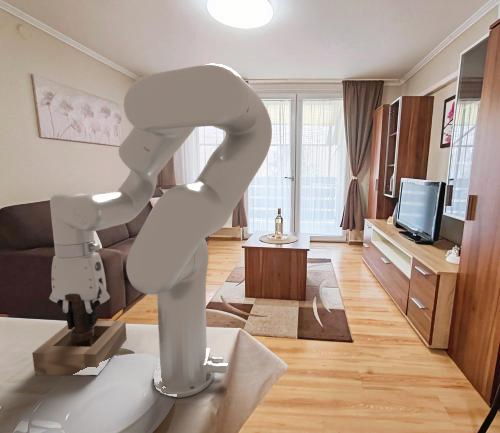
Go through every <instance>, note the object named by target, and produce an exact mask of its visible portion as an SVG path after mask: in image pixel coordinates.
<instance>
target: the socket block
mask: <svg viewBox="0 0 500 433" xmlns="http://www.w3.org/2000/svg"><path fill="white" fill-rule="evenodd" d="M126 325H127V324H126V321H125V320H97V322H96V324H95V325H94V336H93V337H92V346H91V347H76V342H75V341H73V340H71V333H72V330H73V329H75V328H73V329H71V330H70V329H68V324H67V325H65V326H64V327H63V328H61V329H60V330H59V331H58V332H56V333H55V334H54V335H53V336H51V338H49V339H48V340H46V342H44V343H43V344H41V345H40V346H39V347H38V348H36V349H35V350H34V351H32V354H31V355H32V360H33V361H32V362H33V369H34V375H38V376H39V375H42V376H48V375H49V376H74V375H73V374H75V373H77V372H79V371H80V370H83V369H85V368H87V367H96V368H97V367H98V366H99V363H100V362H102V361H105V360H107V359H109V358H111V359H112V358H113V357H114V356H116V353H117V352H118V351H119V349H121V347H122V346H123V344H124V343H125V342H126V341H127V326H126Z"/></svg>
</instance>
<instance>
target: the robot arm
mask: <svg viewBox="0 0 500 433" xmlns="http://www.w3.org/2000/svg"><path fill="white" fill-rule="evenodd" d="M123 110H124V114H125V117H126V119H127V120H128V122H129V123H130V124H131V125H132V126H133V127H132V128H131V130H130V132H129V133H128V134H127V136H126V137H125V139H124V140H123V141H122V142H121V144H120V145H119V148H118V155H119V158H120V159H121V161H122V162H123V164H124V165H125V166H126V167H127V168H128V169H129V171H130V172H129V173H128V176H127V178H126V179H125V180H124V182H122V184H121V186H120V187H119V188H118V189H117V190H116V191H106V192H105V191H104V192H97V193H95V192H94V193H88V194H87V193H84V192H83V193H82V192H65V193H63V192H61V193H56V194H53V195H52V196H51V198H49V207H50V214H51V215H50V216H51V225H52V234H53V235H52V236H53V243H54V254H55V255H54V256H53V258H52V264H51V289H52V290H51V293H50V295H49V298H48V299H49V300H50V301H51V302H54V303H56V304H57V305H58V306H59V307H60V308H62V312H63V313H65V315H66V324H67V325H68V329H70V330H71V329H73V328H74V317H73V306H72V303H71V301H65V295H67V294H79V295H80V297H81V300H84V303H85V307H86V311H87V312H86V313H85V314H84V318H85V329H86V330H90V329H91V328H92V327H93V326H94V325H95V324H96V322H97V321H98V318H97V308H99V306H100V305H102V304H104V303H106V302H107V301H108V300H110V297H111V295H110V294H109V292H108V291H107V281H106V274H105V268H104V264H103V261H102V258H101V255H100V252H96V251H99V250H100V249H101V246H100V244H99V243H98V244H97V243H96V241H95V233H94V232H96V231H101V230H105V229H109V228H112V227H116V226H121V225H124V224H127V223H129V222H132V221H133V220H134V219H135V218H137V217H138V215H139V214H140V213H141V212H142V211H143V209H144V208H145V207H147V205H148V204H149V202H150V201H151V200H152V198H153V196H154V194H155V191H156V187H157V185H158V183H157V182H158V176H159V174H160V173H161V171H162V170H163V169H164V168H165V166H166V165H167V164H168V162H169V161H170V160H171V159H172V158H173V156H174V155H175V154H176V152H177V151H178V150H179V149H180V148H181V146H182V145H183V144H184V143H185V141H187V139H188V138H189V137H190V135H191V134H192V133H193V132H194V130H195V129H196V128H201V127H214V128H217V129H219V130H222V131H224V132H225V136H224V139H223V140H222V141H221V143H220V144H219V145H218V146H217V148H216V149H214V151H213V152H212V153H211V155H210V156H209V158H208V160H207V163H206V164H205V166H204V168H203V169H202V171H201V172H200V174H198V176H197V178H196V179H195V181H193V182H191V183H183V184H179V185H176V186H173V187H171V188H169V189H168V190H167V191H165V192H164V193H163V194H162V195H161V196H160V197H159V198H158V199H157V201H156V202H155V204H154V205H153V207H152V208H151V210H150V212H149V214H148V216H147V217H146V220H145V221H144V223H143V225H142V227H141V228H140V230H139V232H138V234H137V236H136V237H135V240H134V241H133V243H132V245H131V246H130V249H129V251H128V254H127V257H126V265H125V270H126V275H127V278H128V281H129V283H130V284H131V286H132V287H133V288H134V289H135V290H137V291H138V292H139V293H142V294H145V295H151V296H153V295H156V296H157V299H156V303H157V305H156V306H157V322H158V323H157V326H158V327H157V328H158V345H159V346H158V347H159V364H160V368H159V367H158V368H159V369H161V378H162V382H161V381H160V382H159V384H158V382H157V383H156V382H155V381H154V384H155V386H156V387H157V388H159V389H161V391H162V392H163V393H166V394H177V398H178V399H179V398H186V397H190V396H194V395H195V394H198V393H200V392H202V391H204V390H205V389H206V388H207V387H208V386H209V385H210V384H211V382H213V380H214V377H215V374H216V373H217V374H228V370H229V369H228V368H229V363H228V362H224V356H213V355H212V354H211V348H210V347H209V348H208V347H207V346H208V345H207V344H208V342H207V311H206V310H207V307H206V306H207V301H206V300H207V297H206V295H207V294H206V292H207V291H206V289H207V288H206V287H207V286H206V285H207V273H208V268H209V267H208V266H209V247H208V242H207V241H206V238H207V237H209V236H211V235H213V234H215V233H216V232H218V231H220V230H221V229H222V228H223V227H224V226H225V225H226V224H227V223H228V221H229V219H230V217H231V216H232V214H233V212H234V210H235V209H236V207H237V205H238V203H240V201H241V199H242V198H243V197H244V195H245V193H246V191H248V188H249V186H250V185H251V182H252V181H253V179H254V178H255V176H256V175H257V173H258V172H259V171H260V168H261V167H262V165H263V163H264V161H265V160H266V157H267V155H268V153H269V151H270V147H271V144H272V136H273V127H272V120H271V117H270V115H269V112H268V109H267V108H266V105H265V104H264V102H263V100H262V99H261V97H260V96H259V94H258V93H257V92H256V91H255V89H254V88H253V87H252V86H251V85H249V84H248V83H247V82H246V80H244V79H243V77H241V75H240V74H239V73H238V72H236V71H235V70H233V69H232V68H230V67H228V66H226V65H223V64H218V63H217V64H216V63H207V64H200V65H195V66H188V67H184V68H177V69H173V70H172V69H171V70H165V71H162V72H156V73H151V74H148V75H145V76H142V77H140V78H139V79H137V80H135V82H133V83H132V84H131V85H130V87H129V88H128V89H127V91H126V93H125V95H124V99H123ZM98 296H99V297H98ZM156 368H157V367H156ZM158 368H157V369H158ZM154 371H155V370H154ZM155 372H156V371H155ZM155 372H153V373H155ZM157 372H158V371H157ZM157 372H156V373H157ZM159 372H160V371H159ZM159 372H158V373H159ZM154 384H153V385H154ZM163 386H165V387H166V388H164V389H163V388H162V387H163ZM177 398H176V399H177Z"/></svg>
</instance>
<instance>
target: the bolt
mask: <svg viewBox="0 0 500 433" xmlns="http://www.w3.org/2000/svg"><path fill="white" fill-rule="evenodd" d="M65 301H71V303H72V306H73V317H74V328H75V329H73V330H72V333H71V340H73V341H75V342H76V347H91V346H92V345H93V344H92V337H93V336H94V326H93V327H92V328H91V329H90V330H86V329H85V318H84V314H85V313H86V312H87V311H86V307H85V303H84V300H81V297H80V295H79V294H67V295H65Z"/></svg>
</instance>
